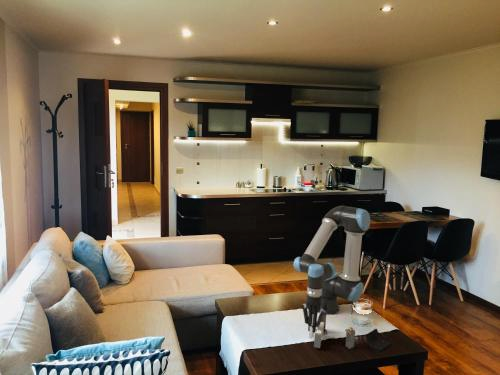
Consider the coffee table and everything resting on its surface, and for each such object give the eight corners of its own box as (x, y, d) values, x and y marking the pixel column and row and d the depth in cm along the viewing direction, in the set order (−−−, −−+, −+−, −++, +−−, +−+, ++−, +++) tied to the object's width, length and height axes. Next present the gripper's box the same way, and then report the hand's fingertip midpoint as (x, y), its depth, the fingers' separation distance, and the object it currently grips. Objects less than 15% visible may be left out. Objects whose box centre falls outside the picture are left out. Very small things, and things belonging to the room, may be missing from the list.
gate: (313, 347, 208) (314, 334, 206) (318, 332, 222) (319, 320, 221) (319, 348, 207) (320, 335, 206) (323, 333, 221) (324, 321, 220)
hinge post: (313, 330, 226) (314, 313, 225) (322, 328, 229) (323, 311, 228) (321, 335, 221) (322, 318, 220) (329, 333, 224) (330, 316, 222)
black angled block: (384, 350, 206) (374, 330, 209) (372, 354, 210) (363, 335, 213) (392, 344, 215) (383, 325, 219) (380, 348, 219) (371, 330, 222)
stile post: (344, 346, 211) (345, 328, 210) (349, 344, 213) (351, 326, 212) (348, 349, 209) (349, 330, 207) (354, 347, 211) (355, 329, 209)
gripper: (299, 293, 212) (297, 336, 216) (322, 300, 205) (319, 344, 209) (306, 289, 218) (303, 330, 222) (329, 295, 211) (325, 338, 215)
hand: (311, 337), depth 215 cm, fingers closed
